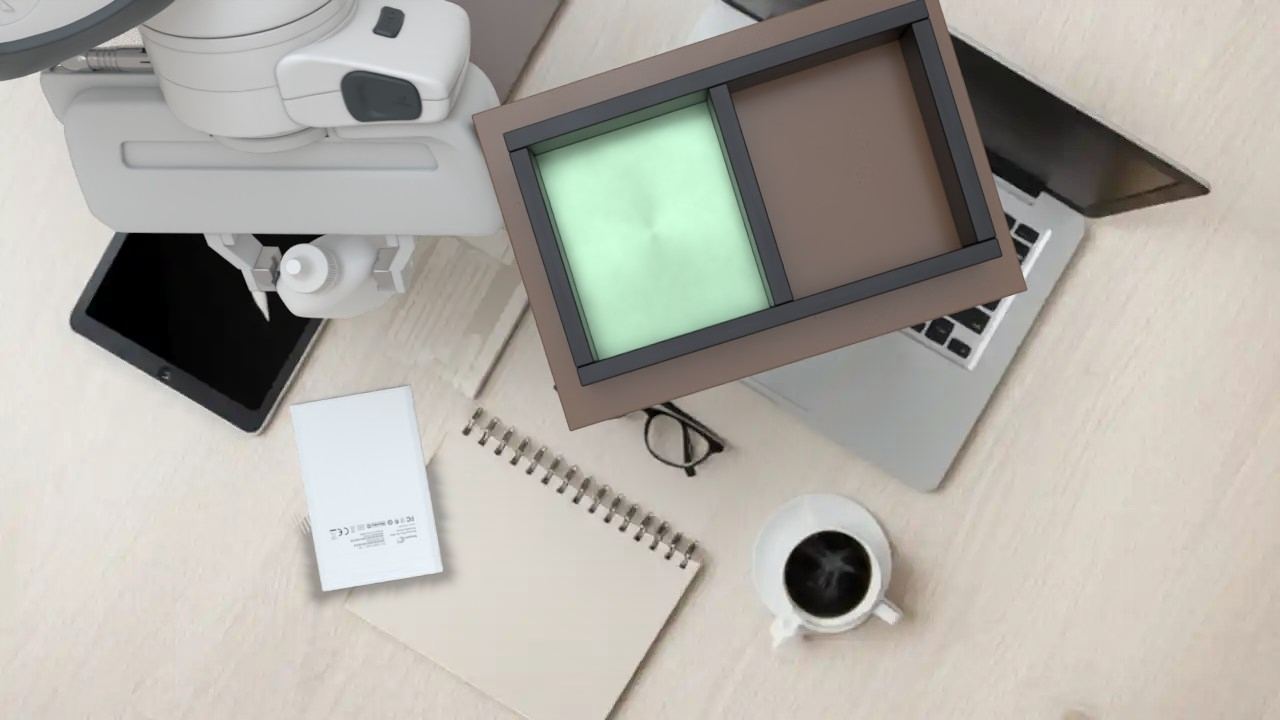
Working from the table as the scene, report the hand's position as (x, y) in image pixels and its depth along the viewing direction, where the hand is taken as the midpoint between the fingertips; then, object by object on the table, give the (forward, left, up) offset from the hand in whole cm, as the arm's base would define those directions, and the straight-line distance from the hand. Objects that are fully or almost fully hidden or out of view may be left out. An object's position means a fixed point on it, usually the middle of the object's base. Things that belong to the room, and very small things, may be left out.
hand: (333, 284), depth 57 cm
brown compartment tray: (+3, +21, +9) cm, 23 cm away
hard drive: (+11, -6, -16) cm, 20 cm away
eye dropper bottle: (-1, 0, -7) cm, 7 cm away
